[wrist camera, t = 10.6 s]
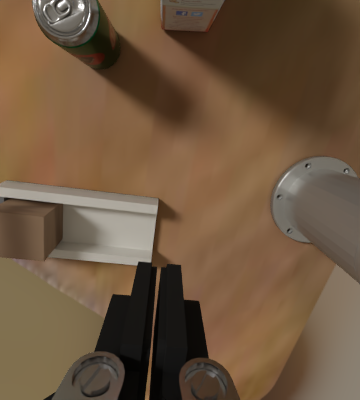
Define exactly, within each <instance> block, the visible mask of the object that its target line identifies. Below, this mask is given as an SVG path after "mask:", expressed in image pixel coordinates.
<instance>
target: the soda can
mask: <svg viewBox="0 0 360 400" xmlns="http://www.w3.org/2000/svg"><path fill="white" fill-rule="evenodd" d="M32 5H33V10H34V14H35V18H36V21H37V23H38V26H39V27H40V29H41V31H42V32H43V33H44V35H45V36H46V37H47V38H48V39H49V40H51V41H52V42H53V43H55V44H56V45H58V46H59V47H61V48H62V49H64V50H65V51H67V52H68V53H70V54H71V55H73V56H74V57H76V58H77V59H79V60H80V61H82V62H83V63H85V64H86V65H88V66H89V67H91V68H94V69H98V70H102V69H107V68H109V67H111V66H112V65H113V64H114V63H115V62H116V61H117V59H118V57H119V55H120V48H121V46H120V40H119V37H118V35H117V33H116V31H115V29H114V27H113V26H112V24H111V22H110V20H109V19H108V17H107V15H106V13H105V12H104V10H103V8H102V6H101V5H100V3H99V1H98V0H32Z"/></svg>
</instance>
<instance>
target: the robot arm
mask: <svg viewBox="0 0 360 400" xmlns="http://www.w3.org/2000/svg"><path fill="white" fill-rule="evenodd" d="M305 165H306V166H305ZM278 195H279V196H278ZM277 196H278V197H277ZM271 214H272V217H273V220H274V222H275V223H276V225H277V227H278V228H279V229H280V230H281V231H282V232H283V233H284V234H285V235H286V236H288V237H290V238H292V239H293V240H296V241H300V242H307V243H313V244H314V245H315V246H316V247H317V248H318V249H320V250H321V251H322V252H323V253H324V254H325V255H327V256H328V257H329V258H330V259H331V260H332V261H334V262H335V263H336V264H337V265H338V266H339V267H341V268H342V269H343V270H344V271H345V272H346V273H348V274H349V275H350V276H351V277H352V278H353V279H355V280H356V281H357V282H358V283H359V284H360V178H358V177H357V174H356V173H355V171H354V170H353V169H352V168H351V167H350V166H349V165H348V164H347V163H345V162H343V161H341V160H339V159H336V158H332V157H327V156H314V157H310V158H306V159H304V160H302V161H299V162H297V163H296V164H294V165H293V166H291V167H290V168H289V169H288V170H287V171H286V172H284V173H283V175H282V176H281V177H280V179H279V180H278V181H277V183H276V185H275V187H274V190H273V193H272V196H271ZM156 273H157V267H154V266H152V263H151V262H140V261H138V265H137V269H136V274H135V279H134V283H133V288H132V293H131V296H129V295H116V294H113V295H112V298H111V301H110V304H109V307H108V310H107V314H106V317H105V320H104V323H103V327H102V329H101V332H100V336H99V339H98V342H97V345H96V348H95V351H94V352H92V353H89V354H86V355H84V356H82V357H80V358H79V359H78V360H77V361H76V362H74V363H73V365H72V366H71V367H70V369H69V370H68V372H67V373H66V375H65V377H64V379H63V380H62V382H61V384H60V386H59V387H58V389H57V391H56V392H55V393H53V394H52V395H50V396H49V397H47V398H45V399H44V400H145V392H146V383H147V375H148V366H149V357H150V348H151V337H152V324H153V312H154V299H155V286H156ZM149 400H240V398H239V395H238V393H237V390H236V388H235V385H234V383H233V380H232V378H231V376H230V374H229V373H228V371H227V370H226V369H225V368H224V367H223V366H222V365H221V364H219V363H218V362H216V361H214V360H211V359H209V357H208V351H207V345H206V339H205V333H204V327H203V321H202V315H201V309H200V304H199V301H193V300H184V297H183V285H182V273H181V265H174V264H167V267H166V268H165V267H161V274H160V283H159V291H158V300H157V308H156V317H155V326H154V338H153V353H152V367H151V381H150V396H149Z"/></svg>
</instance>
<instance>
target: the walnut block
mask: <svg viewBox="0 0 360 400" xmlns="http://www.w3.org/2000/svg"><path fill="white" fill-rule="evenodd" d="M62 239H63V204H61V203H52V202H43V201H35V200H26V199H17V198H10V199H8V200H7V201H5V202H3V203H1V204H0V257H5V258H15V259H26V260H37V261H45V259H46V258H47V257H48V256H49V255H50V253H51V252H52V251H53V250H54V249H55V247H56V246H57V245H58V244H59V243H60V241H61V240H62Z"/></svg>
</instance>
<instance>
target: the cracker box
mask: <svg viewBox="0 0 360 400" xmlns="http://www.w3.org/2000/svg"><path fill="white" fill-rule="evenodd" d="M224 1H225V0H161V28H162V29H164V30H181V31H200V32H208V31H209V29H210V27H211V25H212V23H213V21H214V19H215V17H216V15H217V14H218V12H219V10H220V8H221V6H222V4H223V3H224Z"/></svg>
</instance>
